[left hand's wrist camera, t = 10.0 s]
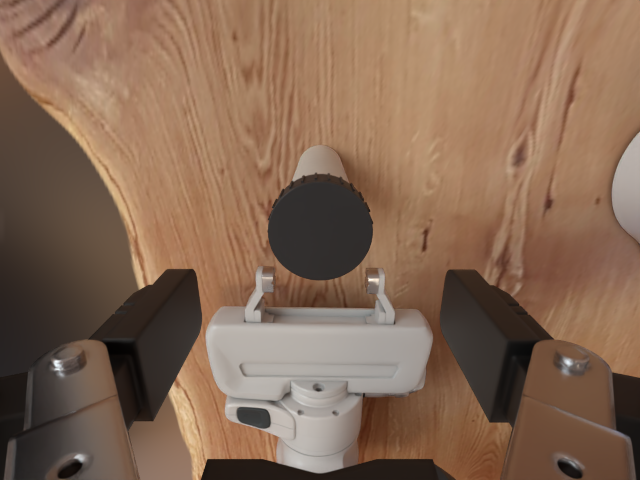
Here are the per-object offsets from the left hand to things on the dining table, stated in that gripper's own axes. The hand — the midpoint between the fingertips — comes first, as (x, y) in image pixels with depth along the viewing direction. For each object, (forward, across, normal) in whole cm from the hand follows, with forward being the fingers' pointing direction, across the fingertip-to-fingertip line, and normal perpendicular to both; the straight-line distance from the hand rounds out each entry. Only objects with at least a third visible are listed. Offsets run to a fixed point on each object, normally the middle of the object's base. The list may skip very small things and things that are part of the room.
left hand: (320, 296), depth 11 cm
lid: (+6, 0, 0) cm, 6 cm away
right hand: (+18, 0, +8) cm, 20 cm away
